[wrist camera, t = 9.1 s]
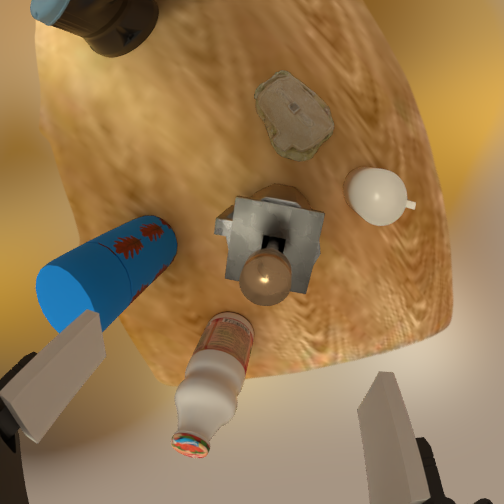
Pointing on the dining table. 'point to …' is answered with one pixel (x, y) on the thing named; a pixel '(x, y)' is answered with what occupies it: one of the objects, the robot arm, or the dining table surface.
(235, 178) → the dining table surface
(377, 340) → the dining table surface
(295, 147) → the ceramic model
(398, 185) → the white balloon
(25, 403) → the robot arm
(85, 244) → the thermos
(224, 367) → the fruit juice
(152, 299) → the dining table surface
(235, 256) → the press body
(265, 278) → the plunger
